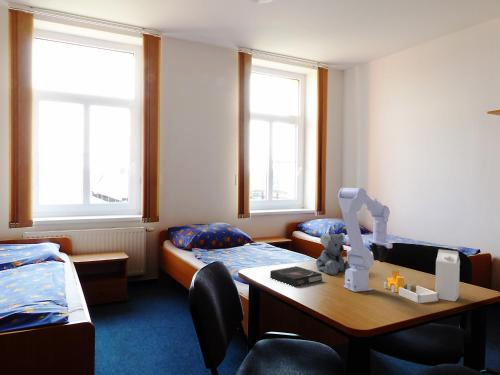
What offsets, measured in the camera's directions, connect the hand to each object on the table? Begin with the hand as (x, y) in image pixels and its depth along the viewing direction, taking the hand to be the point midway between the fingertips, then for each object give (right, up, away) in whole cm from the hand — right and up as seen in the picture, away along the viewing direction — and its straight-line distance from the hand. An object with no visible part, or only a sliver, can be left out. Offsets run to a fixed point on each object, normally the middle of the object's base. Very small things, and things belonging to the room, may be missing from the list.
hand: (379, 261), depth 173 cm
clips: (+5, -10, -13) cm, 17 cm away
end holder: (+8, -10, -22) cm, 25 cm away
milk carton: (+19, -11, -22) cm, 31 cm away
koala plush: (-17, -9, +20) cm, 28 cm away
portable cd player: (-38, -10, +1) cm, 39 cm away
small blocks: (+3, -10, -9) cm, 13 cm away
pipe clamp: (+4, -10, -10) cm, 15 cm away
